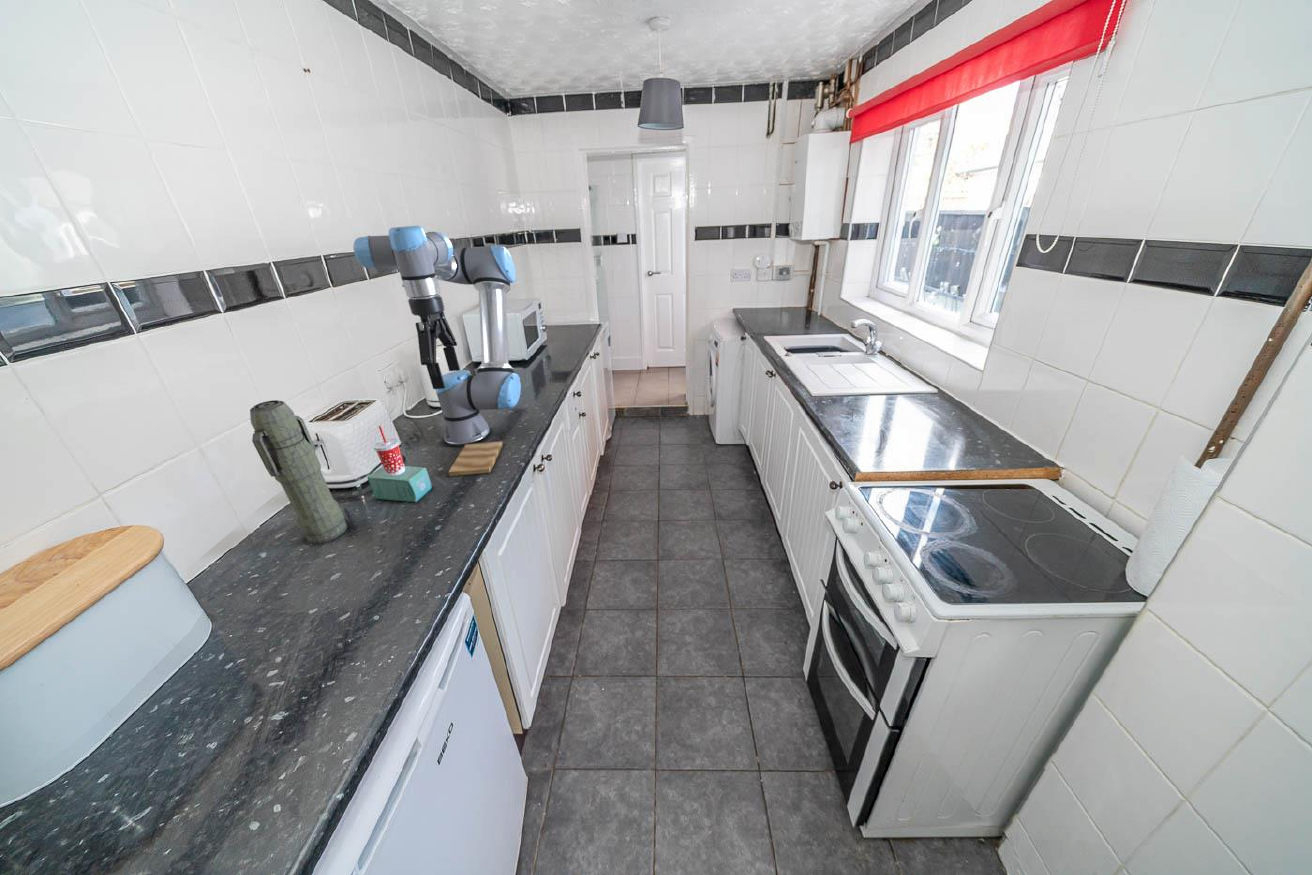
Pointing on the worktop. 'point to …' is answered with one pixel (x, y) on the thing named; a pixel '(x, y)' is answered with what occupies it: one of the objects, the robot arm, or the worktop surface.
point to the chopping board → (476, 459)
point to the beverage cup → (390, 455)
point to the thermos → (296, 469)
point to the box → (400, 484)
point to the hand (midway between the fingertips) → (447, 379)
